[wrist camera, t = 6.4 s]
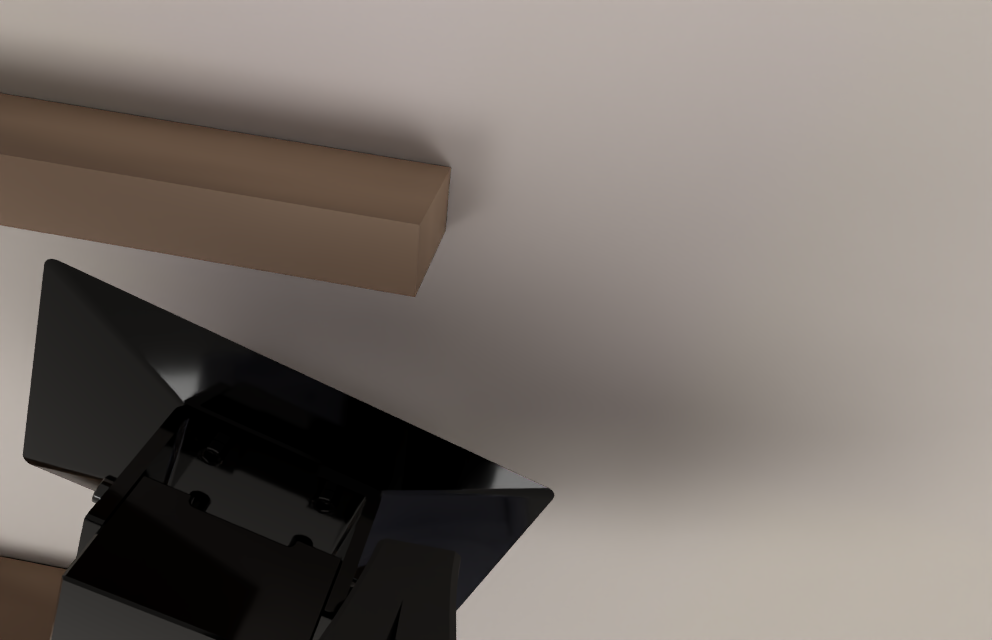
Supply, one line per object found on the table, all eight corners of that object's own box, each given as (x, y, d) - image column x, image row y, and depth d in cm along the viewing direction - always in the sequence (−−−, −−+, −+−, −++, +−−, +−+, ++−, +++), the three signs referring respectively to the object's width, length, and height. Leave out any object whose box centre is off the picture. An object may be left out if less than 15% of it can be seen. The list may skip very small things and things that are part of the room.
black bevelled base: (-10, 436, 15) (-228, 623, 11) (8, 167, 11) (-318, 308, 7) (471, 642, 17) (431, 866, 13) (631, 472, 13) (645, 719, 9)
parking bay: (407, 658, 16) (386, 743, 15) (-188, 541, 17) (-273, 610, 15) (451, 167, 9) (419, 224, 8) (-575, -2, 10) (-812, 17, 8)
